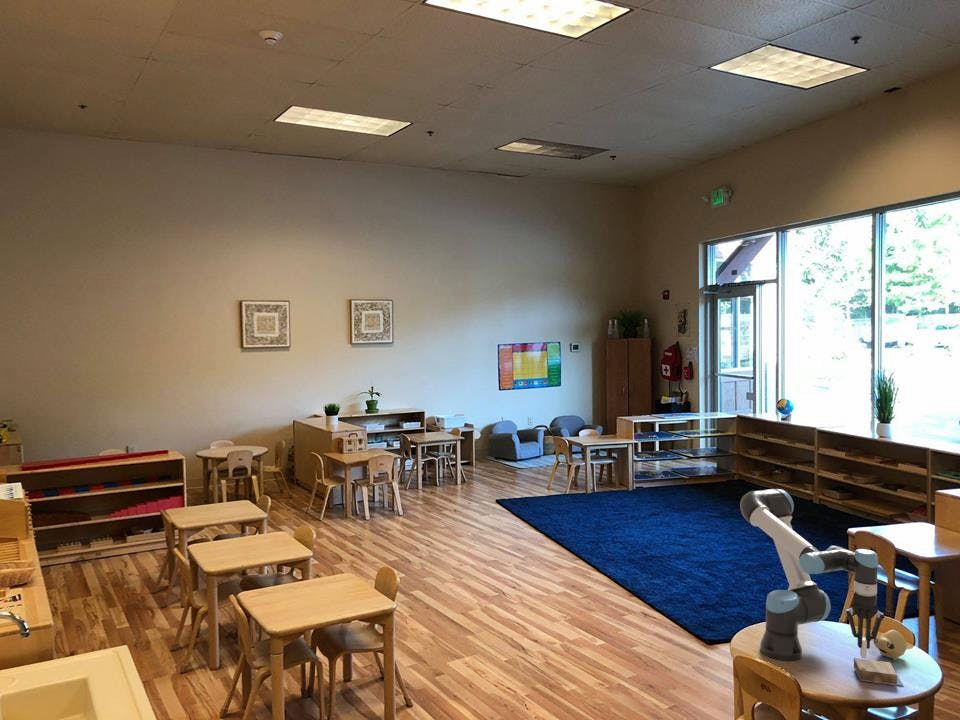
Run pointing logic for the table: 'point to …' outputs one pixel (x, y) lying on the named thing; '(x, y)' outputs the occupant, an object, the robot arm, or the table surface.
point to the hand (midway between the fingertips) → (863, 656)
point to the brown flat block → (875, 671)
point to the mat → (895, 684)
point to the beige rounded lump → (891, 644)
